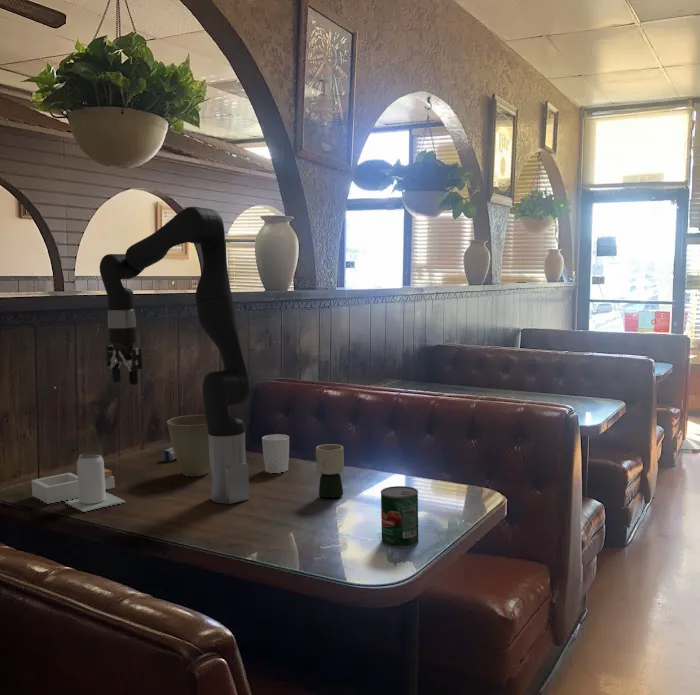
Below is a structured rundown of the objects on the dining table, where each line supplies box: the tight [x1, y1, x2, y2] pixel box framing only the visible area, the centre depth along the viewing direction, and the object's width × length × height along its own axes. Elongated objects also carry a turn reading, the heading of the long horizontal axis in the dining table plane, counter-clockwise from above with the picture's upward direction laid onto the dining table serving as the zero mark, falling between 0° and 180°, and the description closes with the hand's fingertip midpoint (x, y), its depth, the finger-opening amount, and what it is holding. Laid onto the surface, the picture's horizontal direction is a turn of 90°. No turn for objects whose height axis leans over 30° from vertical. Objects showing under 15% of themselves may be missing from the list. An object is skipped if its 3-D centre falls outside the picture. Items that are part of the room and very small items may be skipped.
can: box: [76, 451, 106, 505], centre depth 192 cm, size 6×6×12 cm
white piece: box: [31, 472, 116, 504], centre depth 202 cm, size 10×19×4 cm, turn 132°
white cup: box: [261, 433, 290, 474], centre depth 220 cm, size 8×8×10 cm
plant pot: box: [166, 414, 210, 478], centre depth 218 cm, size 15×15×16 cm
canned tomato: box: [380, 485, 419, 549], centre depth 160 cm, size 8×8×11 cm
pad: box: [64, 492, 126, 513], centre depth 193 cm, size 11×11×1 cm
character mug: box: [315, 443, 345, 499], centre depth 193 cm, size 11×7×13 cm, turn 152°
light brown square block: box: [104, 467, 113, 478], centre depth 207 cm, size 5×5×4 cm
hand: (124, 383), depth 212 cm, fingers open, 8 cm apart
